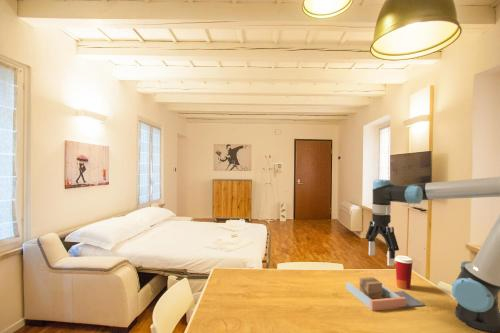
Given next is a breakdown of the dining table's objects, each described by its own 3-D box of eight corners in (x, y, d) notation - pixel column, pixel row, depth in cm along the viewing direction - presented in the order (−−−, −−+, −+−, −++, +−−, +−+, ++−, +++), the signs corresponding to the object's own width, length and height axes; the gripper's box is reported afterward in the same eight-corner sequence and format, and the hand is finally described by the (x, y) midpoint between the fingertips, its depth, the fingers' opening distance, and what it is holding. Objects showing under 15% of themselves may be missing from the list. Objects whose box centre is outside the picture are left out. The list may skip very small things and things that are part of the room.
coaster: (424, 305, 123) (424, 304, 123) (398, 308, 120) (398, 306, 120) (403, 292, 135) (403, 291, 135) (379, 294, 133) (379, 293, 133)
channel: (406, 307, 121) (406, 298, 121) (372, 310, 118) (372, 301, 118) (375, 286, 142) (375, 278, 142) (345, 288, 139) (345, 280, 139)
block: (381, 297, 130) (381, 282, 130) (368, 299, 129) (368, 284, 129) (372, 291, 137) (372, 276, 137) (359, 292, 135) (359, 277, 135)
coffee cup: (408, 283, 145) (408, 255, 145) (415, 290, 137) (416, 260, 137) (391, 283, 146) (391, 254, 146) (398, 290, 138) (398, 260, 138)
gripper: (408, 218, 114) (408, 269, 115) (372, 208, 139) (371, 251, 139) (392, 219, 113) (391, 270, 113) (358, 209, 138) (358, 251, 138)
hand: (380, 260), depth 126 cm, fingers open, 13 cm apart
